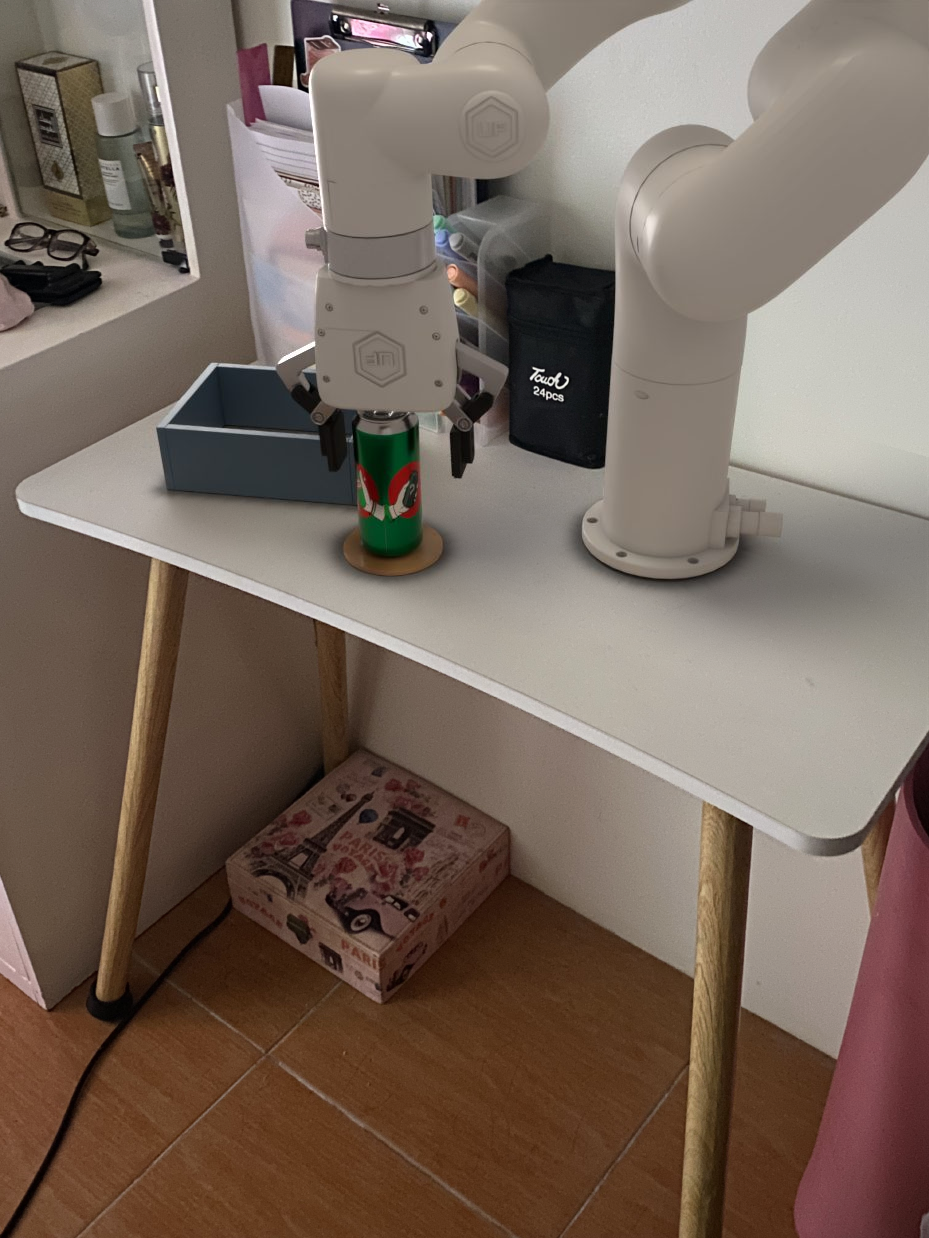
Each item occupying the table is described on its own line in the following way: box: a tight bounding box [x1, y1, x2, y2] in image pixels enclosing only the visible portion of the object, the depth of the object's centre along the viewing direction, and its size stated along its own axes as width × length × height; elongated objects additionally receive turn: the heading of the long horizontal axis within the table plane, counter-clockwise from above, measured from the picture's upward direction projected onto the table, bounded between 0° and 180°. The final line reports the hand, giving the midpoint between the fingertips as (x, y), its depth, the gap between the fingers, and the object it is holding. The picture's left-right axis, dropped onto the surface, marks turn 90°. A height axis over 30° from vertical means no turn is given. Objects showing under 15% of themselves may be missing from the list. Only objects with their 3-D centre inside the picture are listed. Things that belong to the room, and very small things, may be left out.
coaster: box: [342, 523, 444, 577], centre depth 98 cm, size 8×8×1 cm
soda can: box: [351, 410, 424, 558], centre depth 95 cm, size 5×5×12 cm
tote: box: [155, 362, 357, 506], centre depth 109 cm, size 18×14×6 cm
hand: (398, 466), depth 94 cm, fingers open, 9 cm apart
